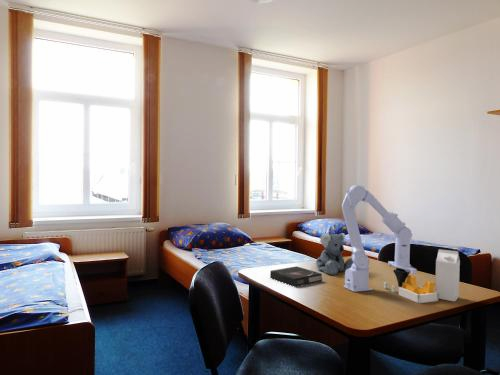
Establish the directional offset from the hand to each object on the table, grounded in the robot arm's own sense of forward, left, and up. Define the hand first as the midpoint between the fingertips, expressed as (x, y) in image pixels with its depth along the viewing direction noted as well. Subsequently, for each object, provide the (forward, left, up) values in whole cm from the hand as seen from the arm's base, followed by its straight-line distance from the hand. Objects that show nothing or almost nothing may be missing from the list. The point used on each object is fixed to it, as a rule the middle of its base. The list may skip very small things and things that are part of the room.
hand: (401, 286), depth 159 cm
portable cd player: (-35, +28, -2) cm, 45 cm away
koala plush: (-9, +39, -2) cm, 40 cm away
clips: (0, 0, -2) cm, 2 cm away
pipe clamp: (+1, -7, -2) cm, 7 cm away
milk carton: (+11, -13, -2) cm, 17 cm away
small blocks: (0, +5, -2) cm, 5 cm away
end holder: (0, -9, -2) cm, 9 cm away
